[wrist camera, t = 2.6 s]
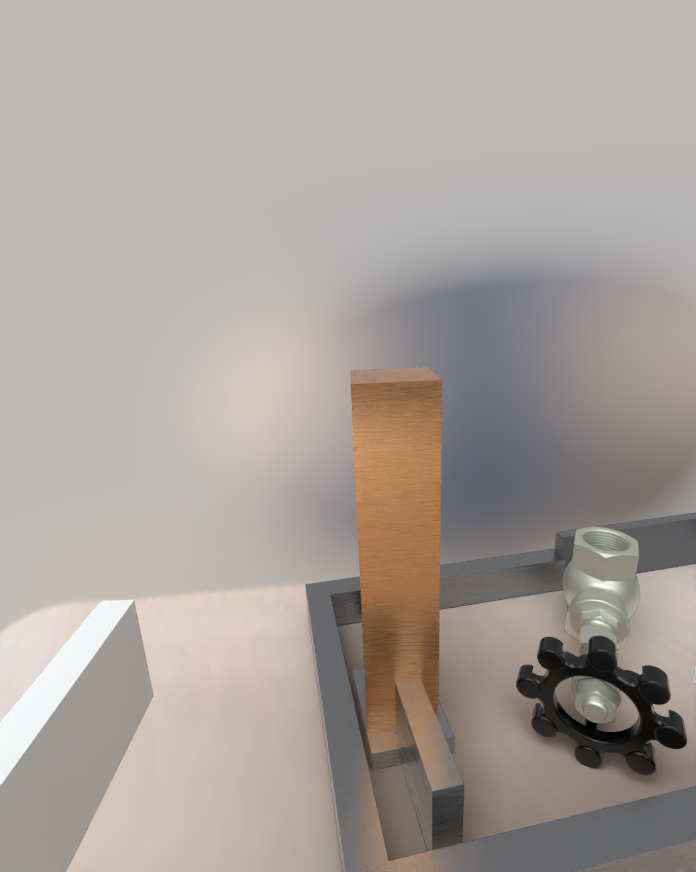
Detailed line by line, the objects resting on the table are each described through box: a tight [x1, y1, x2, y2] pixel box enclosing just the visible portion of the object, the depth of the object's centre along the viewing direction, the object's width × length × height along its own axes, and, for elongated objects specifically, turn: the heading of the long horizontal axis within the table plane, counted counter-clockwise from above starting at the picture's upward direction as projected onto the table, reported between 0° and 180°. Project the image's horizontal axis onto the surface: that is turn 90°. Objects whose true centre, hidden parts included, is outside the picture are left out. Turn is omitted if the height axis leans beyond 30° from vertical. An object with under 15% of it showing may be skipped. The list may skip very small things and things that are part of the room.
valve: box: [516, 527, 687, 775], centre depth 25 cm, size 7×7×12 cm
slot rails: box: [306, 549, 696, 872], centre depth 24 cm, size 18×18×2 cm
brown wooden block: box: [351, 367, 464, 852], centre depth 21 cm, size 13×4×18 cm, turn 10°
